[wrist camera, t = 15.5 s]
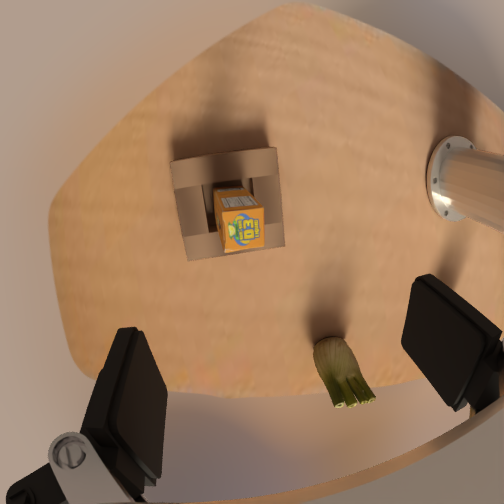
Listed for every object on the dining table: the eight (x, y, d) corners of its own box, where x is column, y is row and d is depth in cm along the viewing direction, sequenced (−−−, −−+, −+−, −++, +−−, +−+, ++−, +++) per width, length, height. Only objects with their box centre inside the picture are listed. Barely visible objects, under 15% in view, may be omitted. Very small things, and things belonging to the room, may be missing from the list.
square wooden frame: (268, 146, 30) (276, 147, 26) (276, 234, 34) (285, 246, 30) (174, 159, 29) (169, 162, 25) (190, 247, 33) (187, 261, 29)
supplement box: (247, 214, 31) (266, 251, 22) (214, 217, 30) (219, 255, 21) (246, 183, 30) (265, 207, 20) (212, 186, 29) (215, 211, 20)
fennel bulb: (303, 350, 40) (330, 412, 29) (324, 325, 39) (359, 385, 28) (330, 361, 42) (359, 419, 31) (351, 339, 41) (386, 394, 30)
